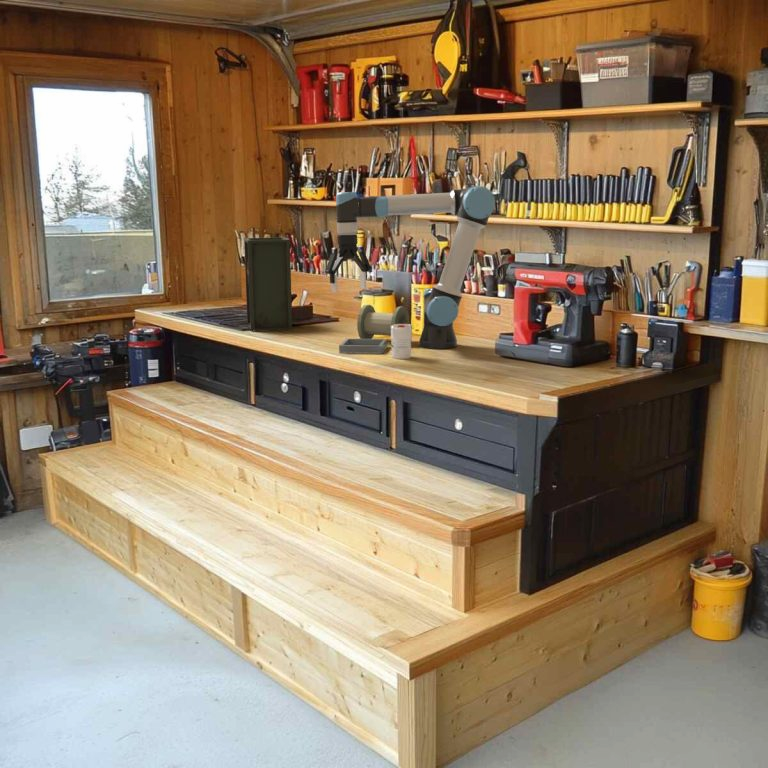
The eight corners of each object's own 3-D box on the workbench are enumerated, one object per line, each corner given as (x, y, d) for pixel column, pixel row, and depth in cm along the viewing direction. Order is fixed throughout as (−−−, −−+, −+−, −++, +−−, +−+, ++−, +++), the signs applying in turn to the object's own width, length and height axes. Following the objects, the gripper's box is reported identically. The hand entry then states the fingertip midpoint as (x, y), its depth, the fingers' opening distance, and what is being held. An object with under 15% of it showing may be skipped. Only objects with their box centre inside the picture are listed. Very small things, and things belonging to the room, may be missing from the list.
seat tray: (386, 346, 364) (386, 339, 364) (381, 353, 348) (381, 346, 348) (346, 345, 366) (346, 338, 366) (339, 353, 350) (339, 345, 350)
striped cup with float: (391, 359, 336) (391, 327, 334) (385, 355, 344) (385, 324, 342) (417, 358, 339) (417, 326, 336) (410, 354, 347) (410, 323, 344)
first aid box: (292, 329, 409) (289, 239, 400) (250, 331, 404) (247, 240, 396) (287, 323, 426) (284, 237, 418) (247, 325, 422) (244, 238, 413)
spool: (409, 340, 378) (409, 304, 375) (394, 346, 365) (394, 309, 362) (373, 338, 385) (373, 302, 382) (357, 343, 372) (357, 307, 369)
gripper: (367, 232, 352) (368, 286, 357) (314, 235, 337) (316, 292, 342) (379, 232, 347) (380, 288, 351) (326, 236, 331) (328, 294, 336)
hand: (349, 290), depth 346 cm, fingers open, 13 cm apart
